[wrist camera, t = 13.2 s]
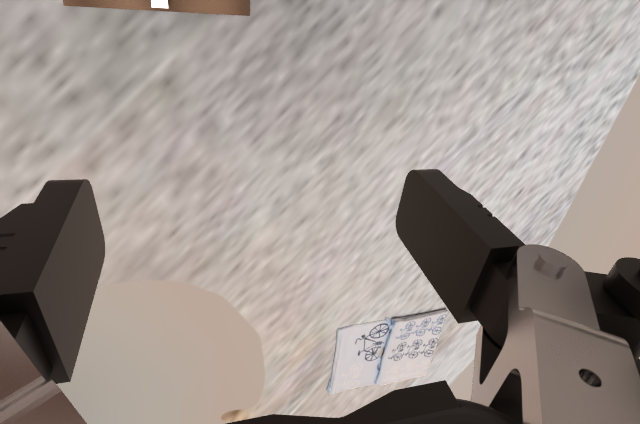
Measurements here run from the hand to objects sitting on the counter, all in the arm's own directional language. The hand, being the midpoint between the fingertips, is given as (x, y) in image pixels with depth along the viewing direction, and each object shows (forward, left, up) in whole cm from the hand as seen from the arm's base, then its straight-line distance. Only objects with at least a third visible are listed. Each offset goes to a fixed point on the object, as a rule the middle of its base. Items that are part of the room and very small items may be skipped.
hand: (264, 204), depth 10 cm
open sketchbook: (-26, +53, -31) cm, 66 cm away
